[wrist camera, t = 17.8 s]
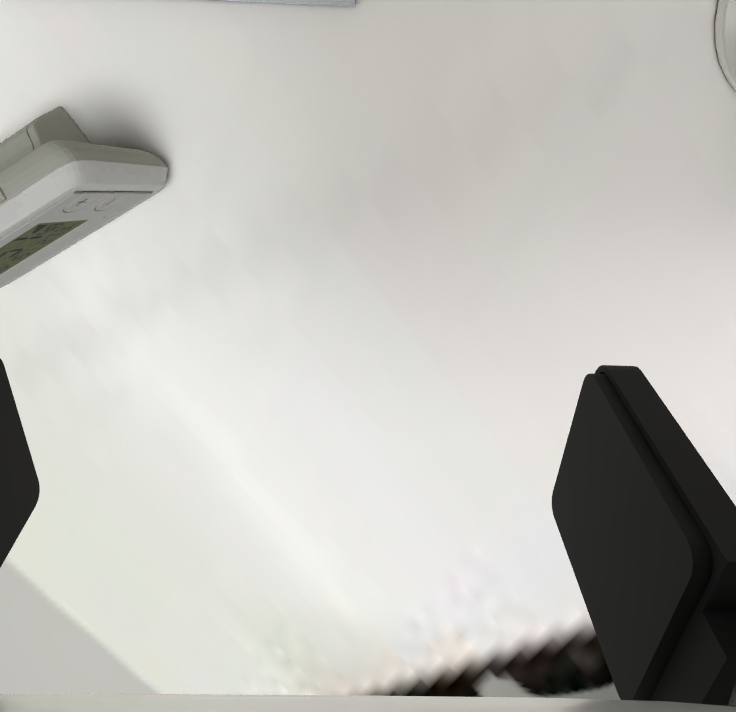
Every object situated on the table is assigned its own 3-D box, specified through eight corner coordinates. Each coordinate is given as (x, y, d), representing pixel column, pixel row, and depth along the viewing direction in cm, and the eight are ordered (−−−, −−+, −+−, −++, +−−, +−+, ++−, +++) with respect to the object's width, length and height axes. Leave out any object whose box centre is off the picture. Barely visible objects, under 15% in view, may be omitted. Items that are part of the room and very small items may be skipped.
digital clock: (-13, 286, 45) (-103, 369, 36) (-100, 164, 41) (-227, 224, 32) (197, 217, 43) (157, 287, 34) (131, 79, 38) (64, 118, 29)
